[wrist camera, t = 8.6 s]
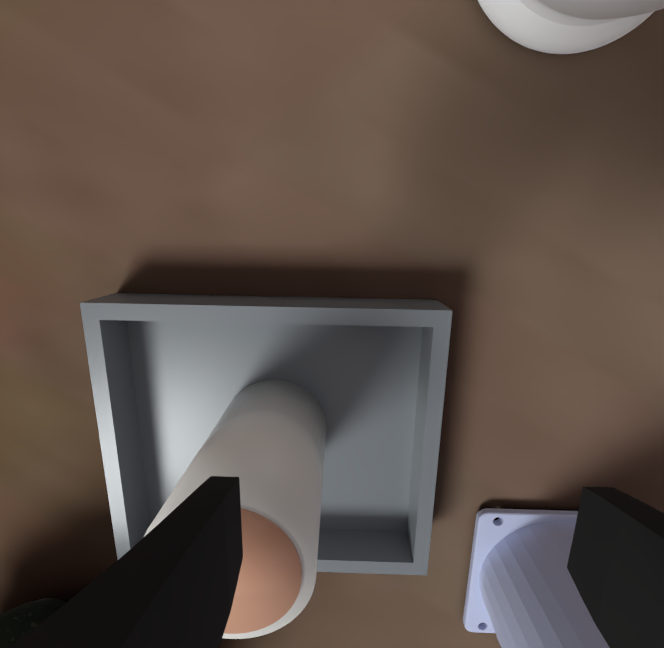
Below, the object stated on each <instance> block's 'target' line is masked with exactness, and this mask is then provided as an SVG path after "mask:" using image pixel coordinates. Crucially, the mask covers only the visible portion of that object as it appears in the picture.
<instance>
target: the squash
mask: <svg viewBox="0 0 664 648" xmlns="http://www.w3.org/2000/svg"><path fill="white" fill-rule="evenodd" d="M64 604H66V602H65V601H63V600H59V599H54V598H46V599H40V600H36V601H31V602H26V603H24V604H22V605H20V606H17V607H15V608H13V609H11V610H8V611H6V612H4V613H1V614H0V648H8V647H9V646H10V645H12V644H13V643H14V642H16V641H17V640H19V639H20V638H21V637H23V636H24V635H25V634H27V633H28V632H29V631H31V630H32V629H33V628H35V627H36V626H37V625H38V624H40V623H41V622H42V621H44V620H45V619H46V618H48V617H49V616H50V615H51V614H53V613H54V612H55V611H57V610H58V609H59V608H60V607H62V606H63V605H64Z"/></svg>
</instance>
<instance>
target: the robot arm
mask: <svg viewBox="0 0 664 648" xmlns="http://www.w3.org/2000/svg"><path fill="white" fill-rule="evenodd" d="M497 517H499V519H497V520H494V519H495V518H497ZM242 560H243V545H242V524H241V503H240V483H239V477H224V476H210V477H209V478H208V479H207V480H206V481H205V482H204V483H203V484H201V485H200V486H199V487H198V488H197V489H196V490H195V491H194V492H193V493H192V494H190V495H189V496H188V497H187V498H186V499H185V500H184V501H183V502H182V503H181V504H180V505H179V506H177V507H176V508H175V509H174V510H173V511H172V512H171V513H170V514H169V515H168V516H167V517H166V518H164V519H163V520H162V521H161V522H160V523H159V524H158V525H157V526H156V527H155V528H154V529H152V530H151V531H150V532H149V533H148V534H147V535H146V536H145V537H143V538H142V539H141V540H140V541H139V542H138V543H137V544H136V545H134V546H133V547H132V548H131V549H130V550H129V551H128V552H127V553H125V554H124V555H123V556H122V557H121V558H120V559H119V560H117V561H116V562H115V563H114V564H113V565H111V566H110V567H109V568H108V569H107V570H105V571H104V572H103V573H102V574H101V575H99V576H98V577H97V578H96V579H94V580H93V581H92V582H91V583H90V584H88V585H87V586H86V587H85V588H84V589H82V590H81V591H80V592H79V593H78V594H76V595H75V596H74V597H73V598H72V599H70V600H69V601H68V602H67V603H66V604H64V605H63V606H62V607H60V608H59V609H58V610H57V611H55V612H54V613H53V614H51V615H50V616H49V617H48V618H46V619H45V620H44V621H42V622H41V623H40V624H38V625H37V626H36V627H35V628H33V629H32V630H31V631H29V632H28V633H27V634H25V635H24V636H23V637H21V638H20V639H19V640H17V641H16V642H14V643H13V644H12V645H10V646H9V647H8V648H219V646H220V643H221V640H222V637H223V634H224V631H225V628H226V625H227V622H228V618H229V615H230V612H231V608H232V604H233V599H234V595H235V591H236V587H237V582H238V578H239V573H240V569H241V564H242ZM463 623H464V626H465V628H466V630H468V631H470V632H482V633H496V635H497V638H498V641H499V643H500V646H501V648H664V514H663V513H661V512H660V511H658V510H656V509H654V508H652V507H650V506H649V505H647V504H645V503H643V502H641V501H639V500H637V499H635V498H633V497H631V496H629V495H628V494H625V493H623V492H621V491H619V490H617V489H615V488H608V487H583V491H582V496H581V501H580V506H579V510H578V511H562V510H528V509H494V508H485V509H482V510H480V511H479V512H478V513H477V516H476V523H475V530H474V538H473V546H472V553H471V561H470V569H469V577H468V584H467V592H466V600H465V607H464V615H463Z"/></svg>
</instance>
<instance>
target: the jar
mask: <svg viewBox="0 0 664 648" xmlns="http://www.w3.org/2000/svg"><path fill="white" fill-rule="evenodd" d="M478 2H479V4H480V6H481V8H482V9H483V11H484V12H485V14H486V15H487V16H488V18H489V19H490V20H491V22H492V23H493V24H494V25H495V26H496V27H497V28H498V29H499V30H500V31H501V32H502V33H504V34H505V35H506V36H507V37H509V38H510V39H512V40H513V41H515V42H517V43H519V44H520V45H522V46H525V47H527V48H529V49H532V50H536V51H540V52H544V53H550V54H573V53H580V52H585V51H589V50H593V49H596V48H599V47H602V46H604V45H607V44H609V43H611V42H613V41H615V40H617V39H619V38H621V37H622V36H624V35H626V34H627V33H629V32H630V31H632V30H633V29H635V28H636V27H637V26H639V25H640V24H641V23H642V22H644V21H645V20H646V19H647V18H648V17H649V16H650V15H652V14H653V13H654V12H655V11H657V10H661V9H664V0H478Z"/></svg>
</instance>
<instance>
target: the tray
mask: <svg viewBox="0 0 664 648" xmlns="http://www.w3.org/2000/svg"><path fill="white" fill-rule="evenodd" d="M80 307H81V314H82V321H83V327H84V334H85V341H86V348H87V355H88V362H89V368H90V375H91V382H92V389H93V396H94V403H95V409H96V416H97V423H98V430H99V437H100V444H101V450H102V457H103V464H104V471H105V478H106V485H107V491H108V498H109V505H110V512H111V519H112V526H113V532H114V539H115V546H116V553H117V560H119V559H120V558H121V557H122V556H123V555H124V554H125V553H127V552H128V551H129V550H130V549H131V548H132V547H133V546H134V545H136V544H137V543H138V542H139V541H140V540H141V539H142V538H143V537H144V535H145V533H146V531H147V529H148V528H149V526H150V525H151V523H152V522H153V520H154V519H155V517H156V516H157V514H158V513H159V511H160V509H161V508H162V506H163V505H164V503H165V502H166V500H167V499H168V497H169V496H170V494H171V493H172V491H173V490H174V488H175V487H176V485H177V484H178V482H179V481H180V479H181V478H182V476H183V474H184V473H185V471H186V470H187V468H188V467H189V465H190V464H191V462H192V461H193V459H194V458H195V456H196V455H197V453H198V452H199V450H200V449H201V447H202V446H203V444H204V442H205V441H206V439H207V438H208V436H209V435H210V433H211V432H212V430H213V429H214V427H215V426H216V424H217V423H218V421H219V420H220V418H221V417H222V415H223V414H224V412H225V411H226V409H227V407H228V406H229V404H230V403H231V401H232V400H233V399H234V397H235V396H236V395H237V394H238V393H239V392H240V391H241V390H243V389H244V388H246V387H247V386H249V385H251V384H253V383H256V382H259V381H264V380H283V381H288V382H291V383H294V384H296V385H298V386H300V387H302V388H304V389H305V390H307V391H308V392H309V393H310V394H311V395H313V397H314V398H315V399H316V400H317V401H318V403H319V404H320V406H321V408H322V410H323V412H324V415H325V419H326V443H325V457H324V471H323V485H322V500H321V514H320V528H319V542H318V556H317V570H316V572H342V573H373V574H404V575H427V570H428V559H429V549H430V539H431V528H432V518H433V508H434V497H435V487H436V477H437V466H438V456H439V446H440V435H441V425H442V415H443V404H444V394H445V384H446V373H447V363H448V353H449V342H450V332H451V322H452V310H451V309H450V308H448V307H447V306H445V305H444V304H442V303H441V302H439V301H438V300H427V299H379V298H331V297H283V296H235V295H186V294H138V293H114V294H111V295H107V296H103V297H99V298H96V299H92V300H88V301H84V302H80Z"/></svg>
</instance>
